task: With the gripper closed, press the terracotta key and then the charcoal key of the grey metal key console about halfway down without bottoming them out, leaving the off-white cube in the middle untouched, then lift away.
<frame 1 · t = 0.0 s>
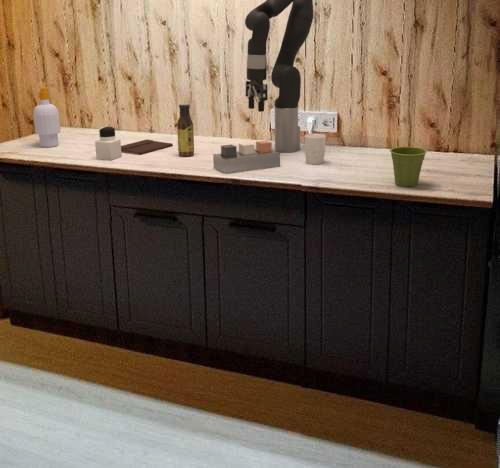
hand: (256, 110, 281), 17 cm above the countertop, tool pointing down, fingers open, 8 cm apart
sauce bottle: (186, 155, 287), on the countertop
soap bottle: (49, 146, 309), on the countertop
plant pot: (406, 184, 239), on the countertop
grey cup: (314, 163, 271), on the countertop
medicine bottle: (109, 158, 285), on the countertop
notebook: (143, 150, 301), on the countertop
charcoal key: (228, 150, 261), point 7 cm above the countertop, slide at 0.0 cm
console: (246, 167, 266), on the countertop
terracotta key: (263, 146, 267), point 7 cm above the countertop, slide at 0.0 cm
off-white cube: (246, 148, 264), point 7 cm above the countertop, slide at 0.0 cm
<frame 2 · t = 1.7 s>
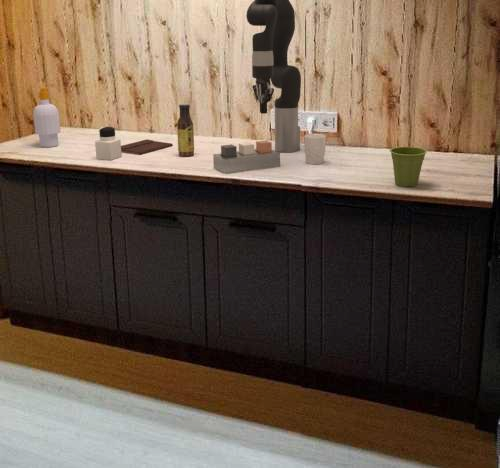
hand: (263, 113, 263), 19 cm above the countertop, tool pointing down, fingers closed
nothing on the countertop moved.
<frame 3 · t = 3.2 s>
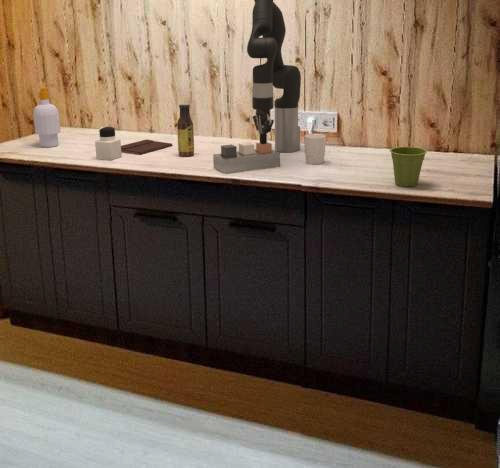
hand: (263, 143, 266), 8 cm above the countertop, tool pointing down, fingers closed
terracotta key: (263, 148, 267), point 6 cm above the countertop, slide at 0.5 cm, touching gripper
everything else where it was.
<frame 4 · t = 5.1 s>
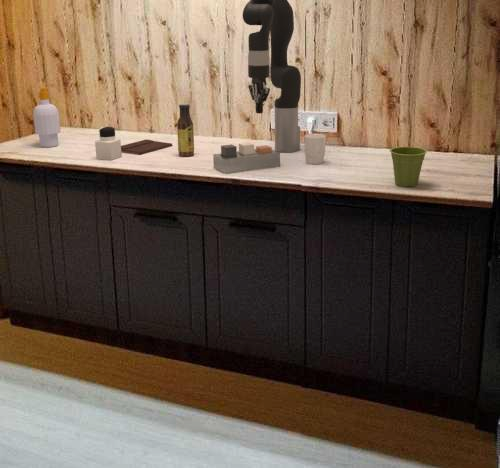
hand: (259, 113, 262), 19 cm above the countertop, tool pointing down, fingers closed
terracotta key: (263, 151, 267), point 5 cm above the countertop, slide at 1.8 cm
everything else where it was.
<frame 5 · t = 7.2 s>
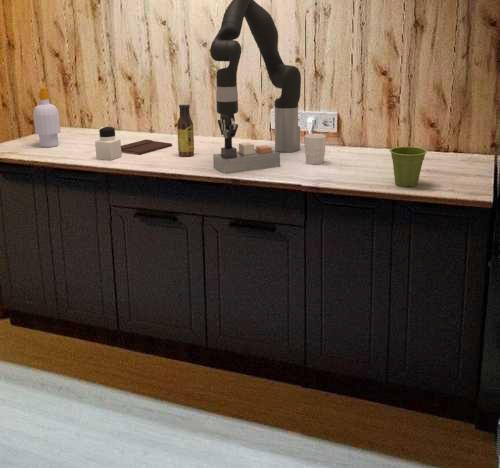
hand: (228, 148, 261), 8 cm above the countertop, tool pointing down, fingers closed
charcoal key: (228, 152, 261), point 6 cm above the countertop, slide at 0.8 cm, touching gripper
everything else where it was.
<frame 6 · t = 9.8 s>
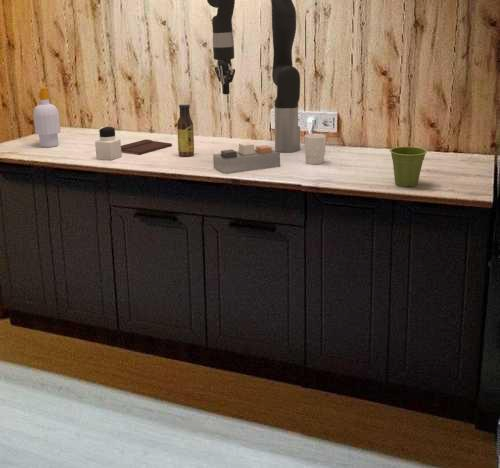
hand: (226, 94, 268), 25 cm above the countertop, tool pointing down, fingers closed
charcoal key: (228, 155, 261), point 5 cm above the countertop, slide at 1.8 cm
everything else where it was.
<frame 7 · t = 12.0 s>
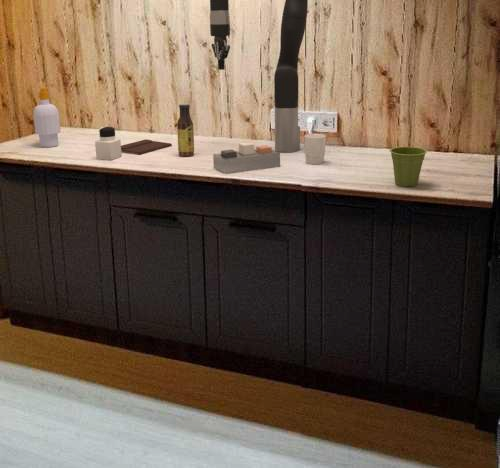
hand: (221, 69, 283), 32 cm above the countertop, tool pointing down, fingers closed
nothing on the countertop moved.
at the end: terracotta key slide at 1.8 cm; charcoal key slide at 1.8 cm; off-white cube slide at 0.0 cm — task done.
